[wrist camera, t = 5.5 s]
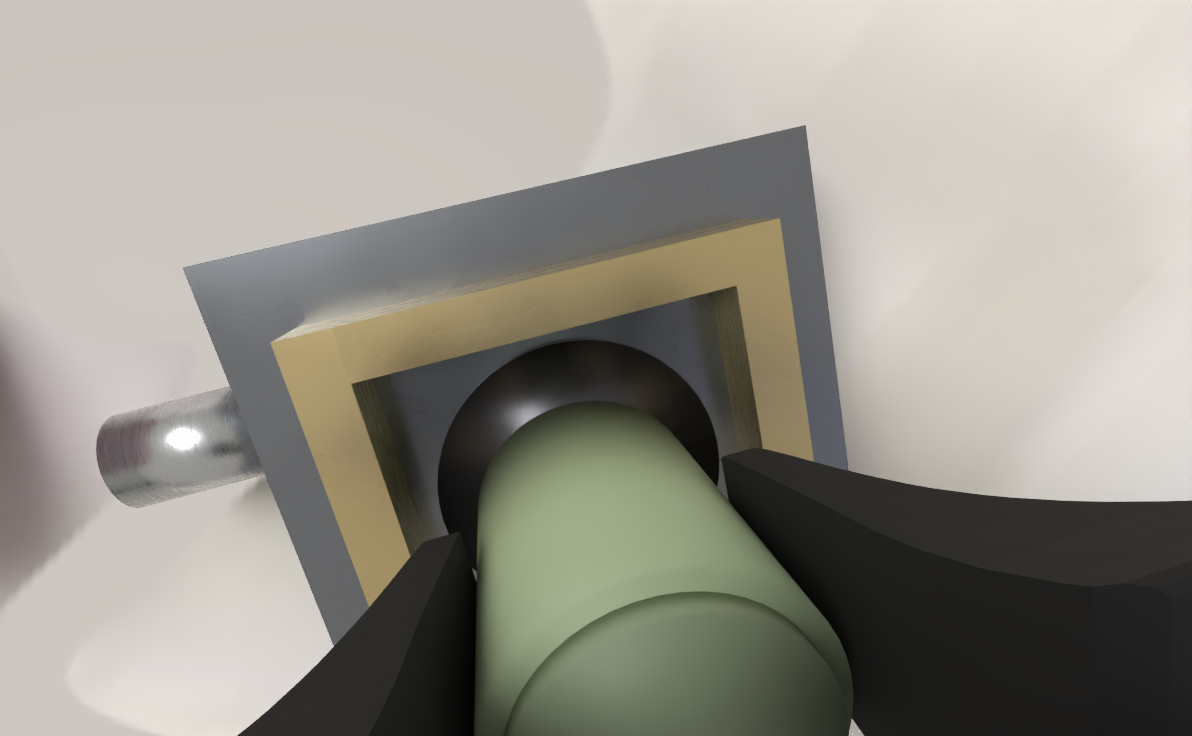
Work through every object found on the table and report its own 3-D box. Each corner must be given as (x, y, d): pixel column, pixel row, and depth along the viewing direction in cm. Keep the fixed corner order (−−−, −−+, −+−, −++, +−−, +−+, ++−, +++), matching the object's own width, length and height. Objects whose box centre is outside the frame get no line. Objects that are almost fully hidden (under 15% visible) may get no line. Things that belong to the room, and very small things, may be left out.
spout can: (669, 372, 13) (936, 615, 5) (714, 562, 14) (977, 972, 7) (447, 440, 12) (390, 813, 5) (515, 630, 14) (554, 1152, 6)
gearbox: (745, 142, 15) (847, 112, 11) (808, 562, 18) (906, 667, 14) (105, 289, 14) (-70, 322, 9) (294, 722, 17) (227, 895, 13)
